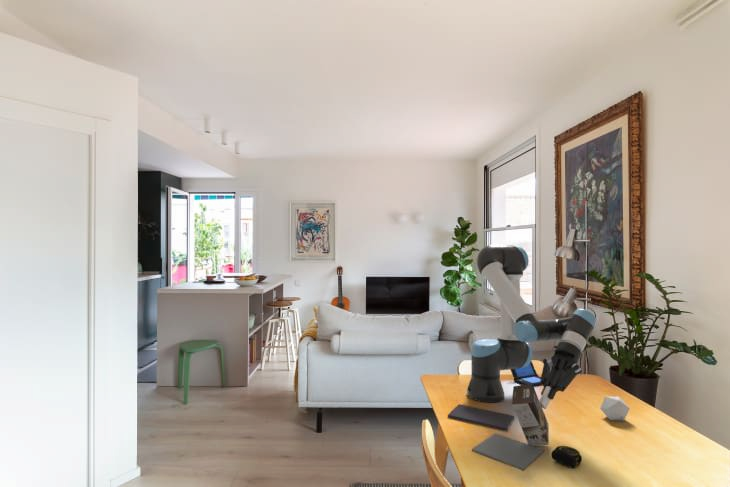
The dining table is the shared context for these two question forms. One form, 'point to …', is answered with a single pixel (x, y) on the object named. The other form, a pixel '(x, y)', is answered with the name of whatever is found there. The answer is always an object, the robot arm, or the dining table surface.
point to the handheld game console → (526, 375)
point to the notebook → (482, 417)
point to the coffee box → (530, 415)
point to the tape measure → (567, 456)
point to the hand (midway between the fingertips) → (542, 405)
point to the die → (614, 408)
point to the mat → (508, 451)
